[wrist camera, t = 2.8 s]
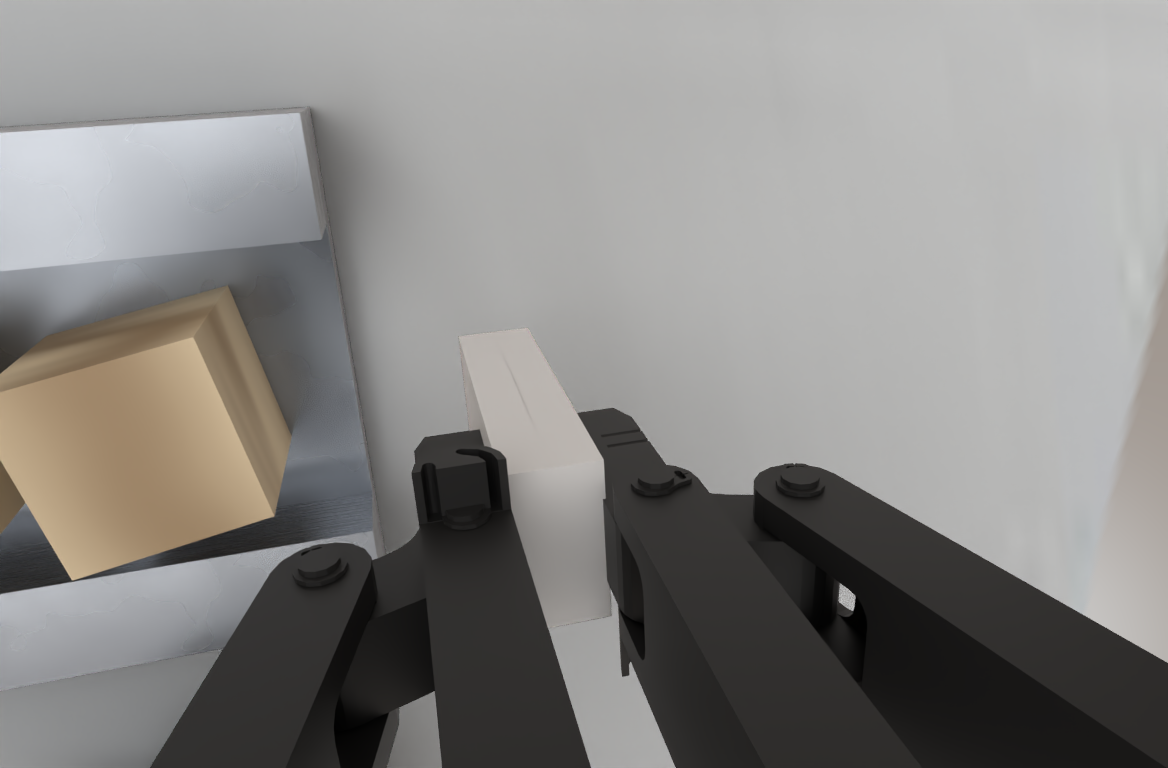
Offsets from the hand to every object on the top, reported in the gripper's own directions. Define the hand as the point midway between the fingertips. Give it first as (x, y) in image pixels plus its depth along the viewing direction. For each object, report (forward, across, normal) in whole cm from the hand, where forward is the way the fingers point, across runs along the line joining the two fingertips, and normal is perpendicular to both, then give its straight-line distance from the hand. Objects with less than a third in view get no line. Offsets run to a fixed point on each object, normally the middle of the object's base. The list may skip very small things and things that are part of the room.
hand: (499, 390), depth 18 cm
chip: (+3, -7, 0) cm, 8 cm away
